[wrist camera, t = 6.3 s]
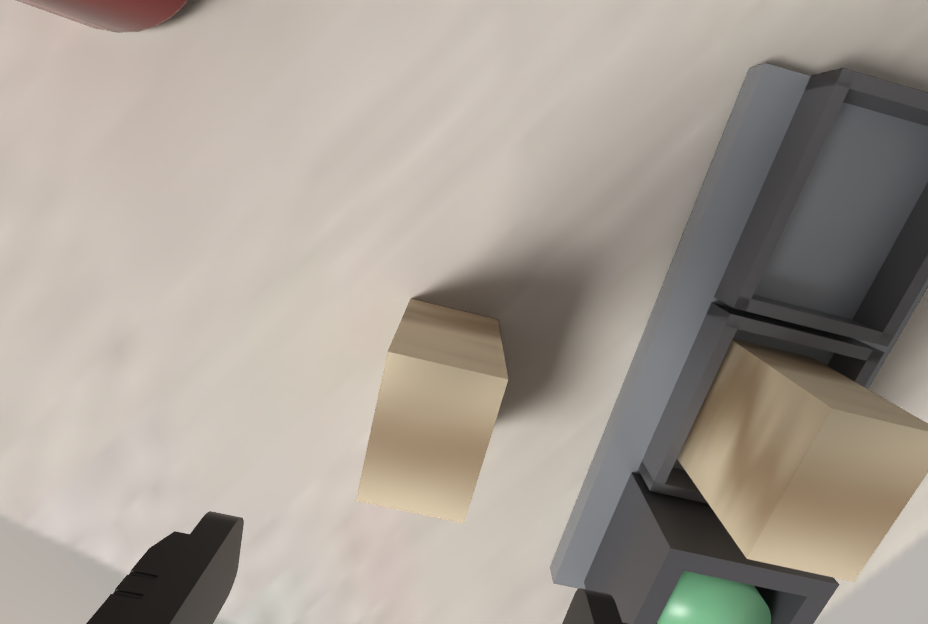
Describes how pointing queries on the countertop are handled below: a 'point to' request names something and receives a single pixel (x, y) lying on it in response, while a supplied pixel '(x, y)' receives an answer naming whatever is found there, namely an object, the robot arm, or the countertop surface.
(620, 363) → the countertop surface
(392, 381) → the loose billet
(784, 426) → the block
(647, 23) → the countertop surface
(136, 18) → the soda can
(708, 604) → the button
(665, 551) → the grey compartment tray
